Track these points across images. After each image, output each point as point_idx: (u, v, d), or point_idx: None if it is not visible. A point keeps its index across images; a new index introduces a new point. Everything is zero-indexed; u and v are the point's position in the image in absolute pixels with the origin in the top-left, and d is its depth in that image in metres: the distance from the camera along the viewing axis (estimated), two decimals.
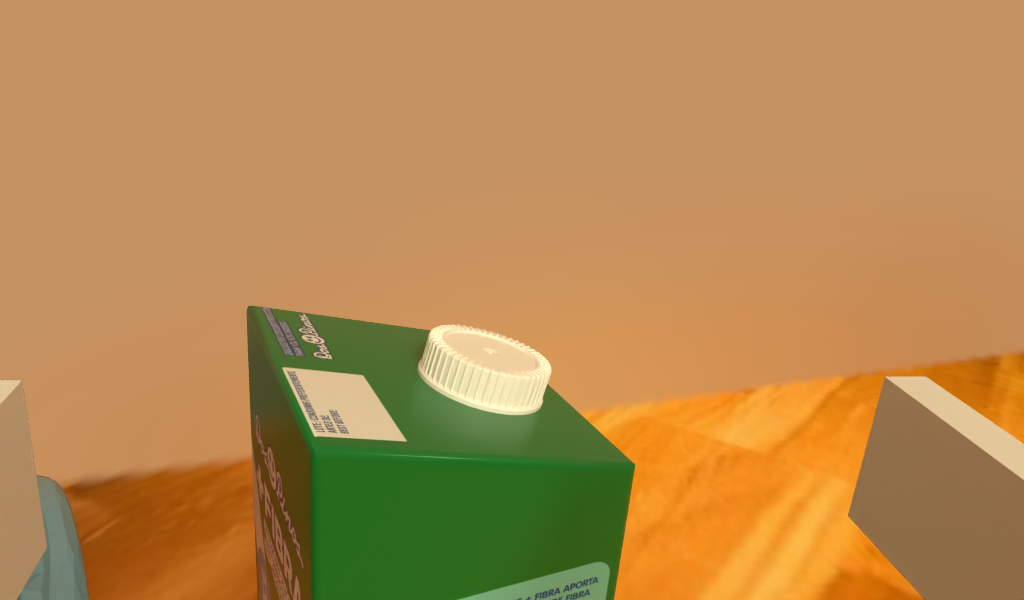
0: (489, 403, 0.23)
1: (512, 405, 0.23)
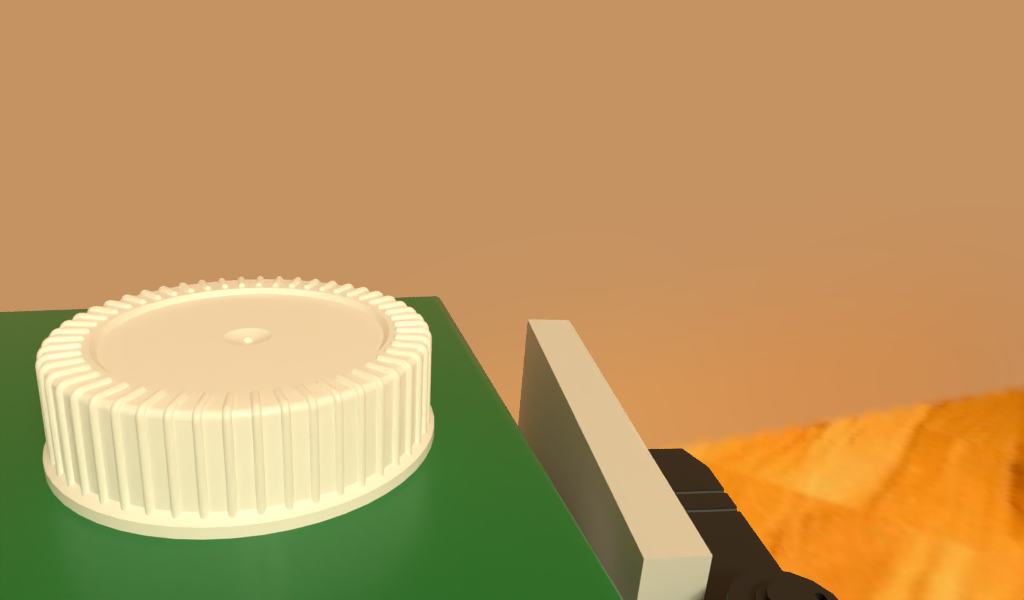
0: (170, 512, 0.07)
1: (257, 504, 0.07)
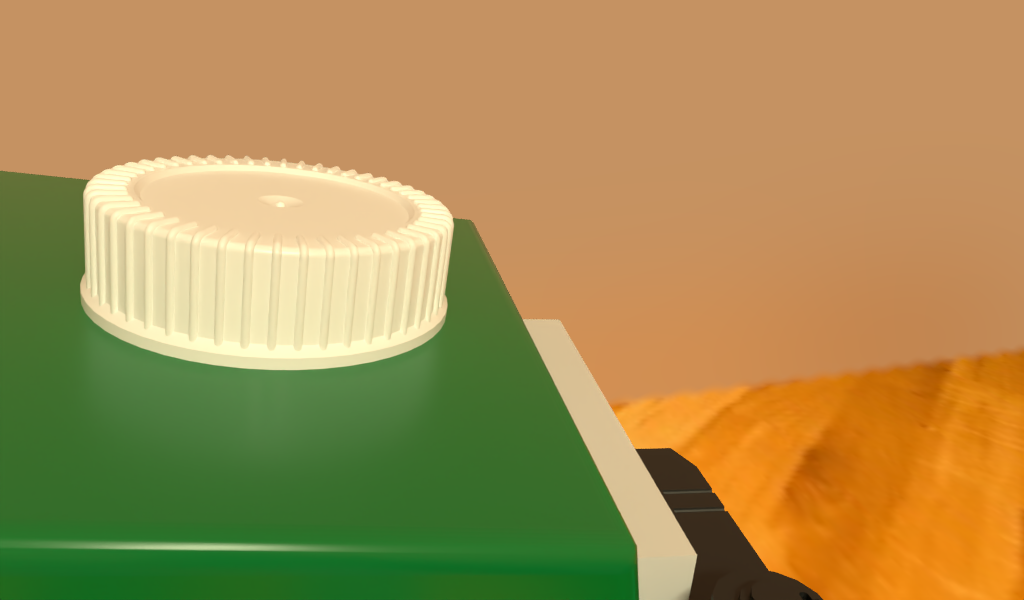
0: (187, 335, 0.07)
1: (267, 340, 0.07)
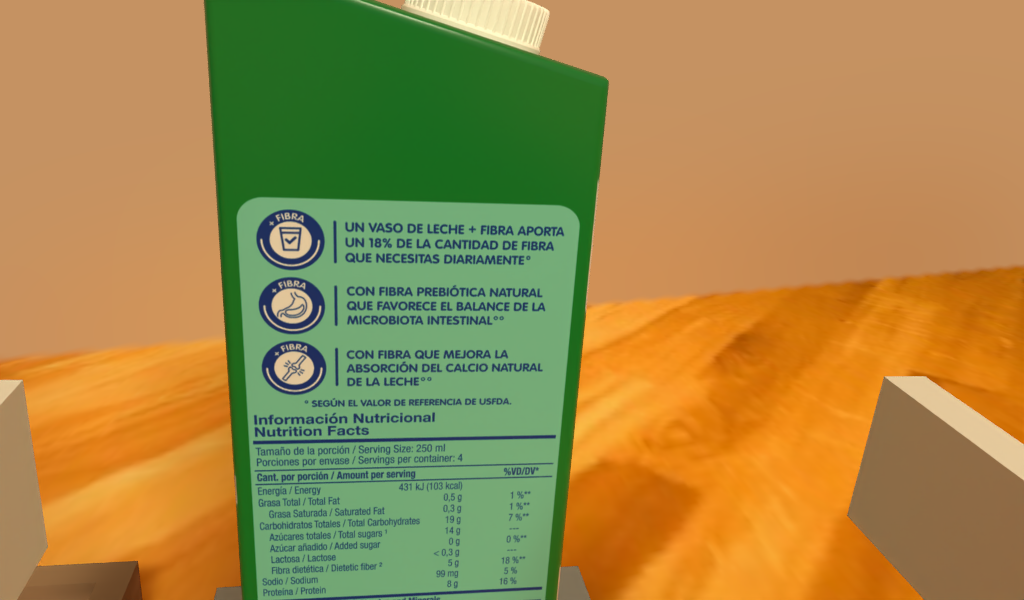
0: (456, 18, 0.20)
1: (484, 25, 0.20)
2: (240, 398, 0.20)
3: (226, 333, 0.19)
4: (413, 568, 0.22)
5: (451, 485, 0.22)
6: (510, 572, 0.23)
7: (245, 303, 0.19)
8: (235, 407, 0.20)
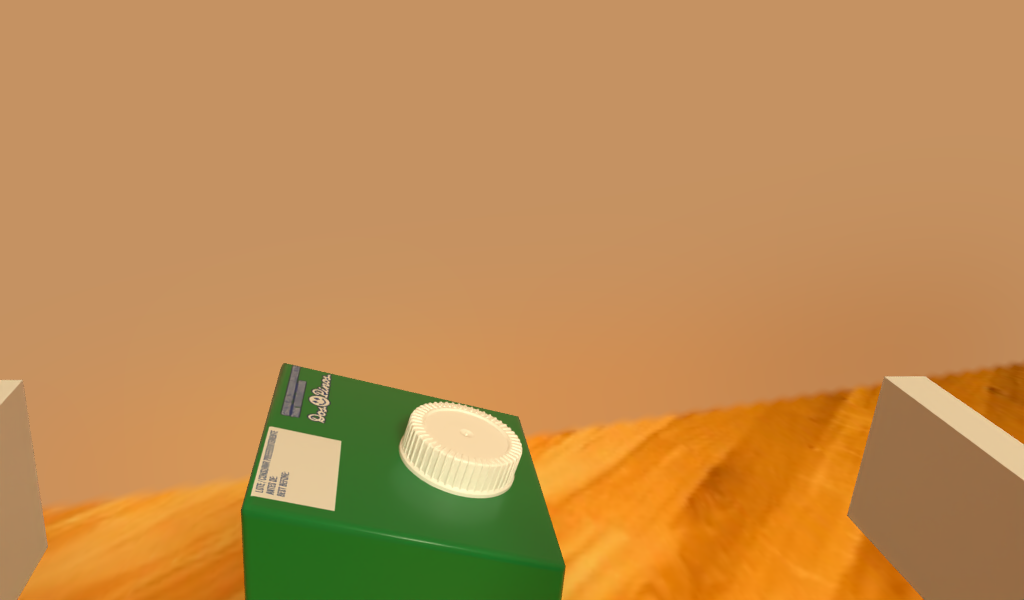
0: (444, 483, 0.25)
1: (466, 488, 0.25)
2: None
3: None
4: None
5: None
6: None
7: None
8: None
